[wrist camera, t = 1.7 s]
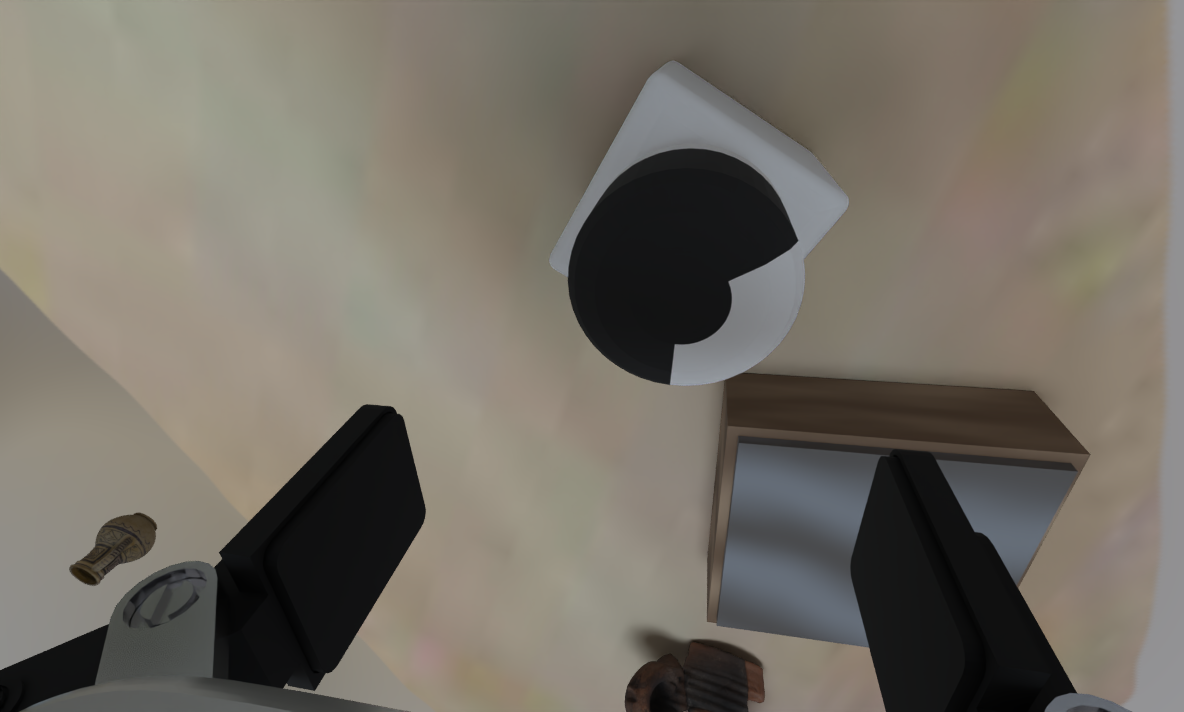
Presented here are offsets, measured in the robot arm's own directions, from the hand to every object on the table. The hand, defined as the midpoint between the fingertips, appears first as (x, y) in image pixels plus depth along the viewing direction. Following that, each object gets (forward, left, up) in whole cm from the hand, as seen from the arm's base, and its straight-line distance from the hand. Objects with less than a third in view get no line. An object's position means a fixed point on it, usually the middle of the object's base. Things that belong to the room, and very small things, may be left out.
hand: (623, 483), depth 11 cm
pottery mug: (+32, +3, -18) cm, 37 cm away
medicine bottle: (-2, +1, -17) cm, 17 cm away
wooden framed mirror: (+14, +10, -17) cm, 24 cm away
